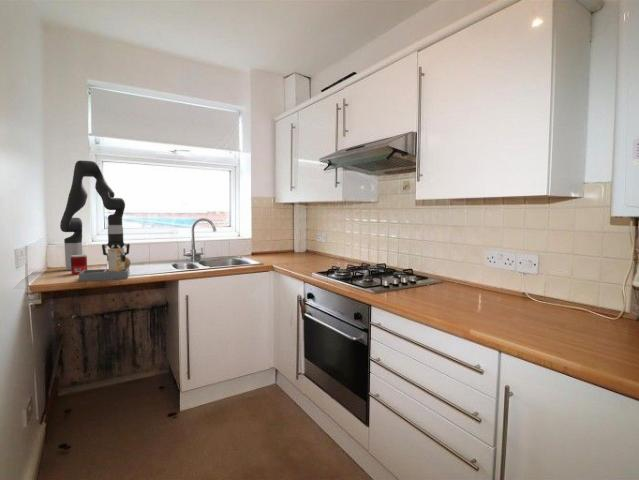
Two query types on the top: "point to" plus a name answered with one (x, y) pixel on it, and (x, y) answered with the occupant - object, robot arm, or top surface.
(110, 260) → the supplement box
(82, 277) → the organiser tray
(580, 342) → the top surface
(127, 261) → the natural sponge
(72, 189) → the robot arm
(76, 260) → the canned food
